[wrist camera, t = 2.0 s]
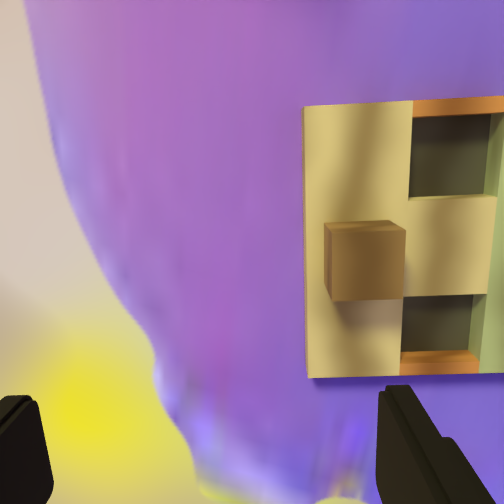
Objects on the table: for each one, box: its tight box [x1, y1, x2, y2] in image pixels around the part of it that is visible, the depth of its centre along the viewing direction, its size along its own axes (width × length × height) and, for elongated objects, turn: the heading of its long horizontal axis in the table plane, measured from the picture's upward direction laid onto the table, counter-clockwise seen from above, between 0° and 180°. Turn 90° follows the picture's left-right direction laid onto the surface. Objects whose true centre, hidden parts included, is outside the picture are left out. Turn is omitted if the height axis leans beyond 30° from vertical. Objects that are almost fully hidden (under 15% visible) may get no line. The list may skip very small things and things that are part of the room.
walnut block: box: [324, 220, 406, 302], centre depth 27 cm, size 4×4×4 cm
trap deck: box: [301, 96, 504, 378], centre depth 28 cm, size 20×20×4 cm
